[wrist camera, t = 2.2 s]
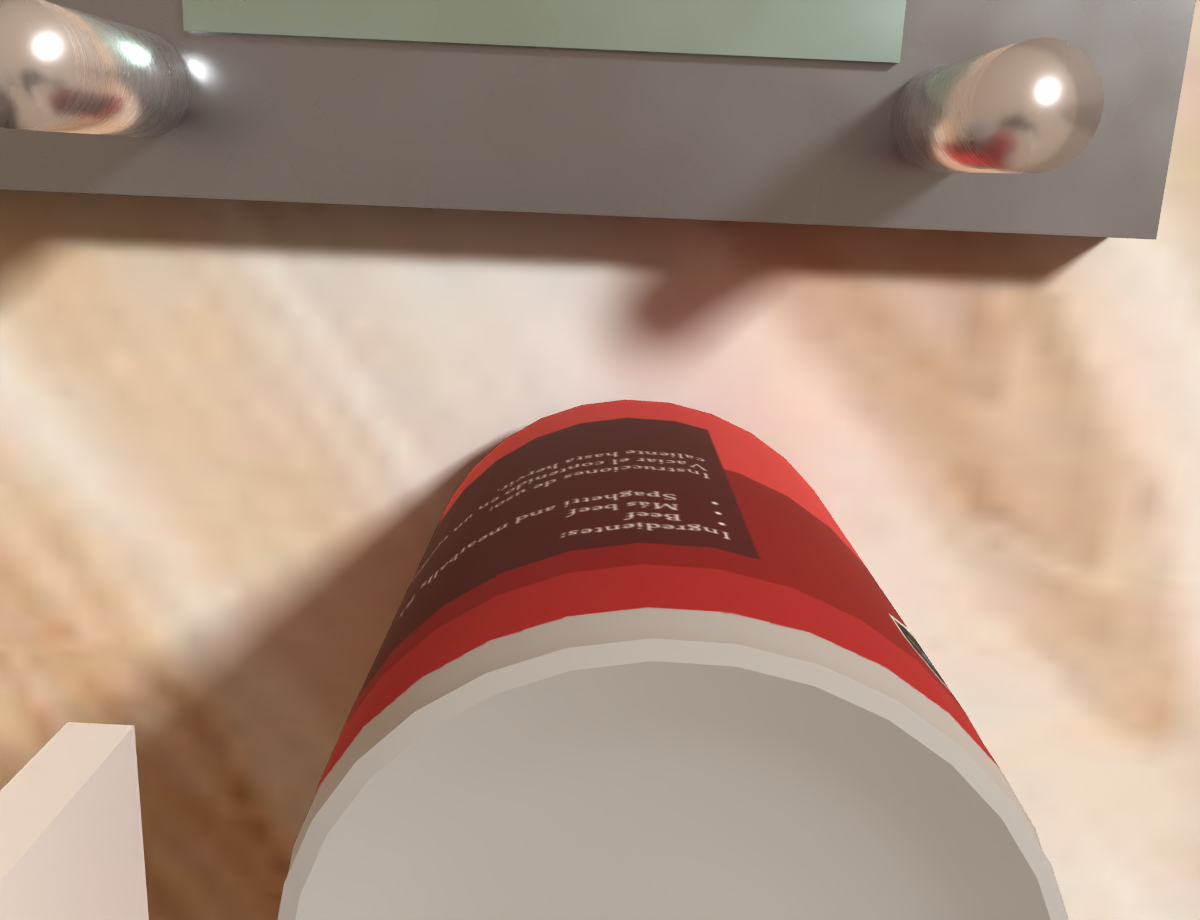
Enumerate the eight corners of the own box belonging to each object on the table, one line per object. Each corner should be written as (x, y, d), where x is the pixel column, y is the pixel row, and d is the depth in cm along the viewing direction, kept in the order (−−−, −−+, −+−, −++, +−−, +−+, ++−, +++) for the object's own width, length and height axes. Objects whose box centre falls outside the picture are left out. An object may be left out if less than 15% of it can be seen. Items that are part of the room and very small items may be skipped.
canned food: (727, 831, 23) (841, 1425, 12) (364, 668, 22) (138, 1154, 11) (921, 507, 21) (1259, 864, 10) (536, 316, 20) (462, 488, 9)
